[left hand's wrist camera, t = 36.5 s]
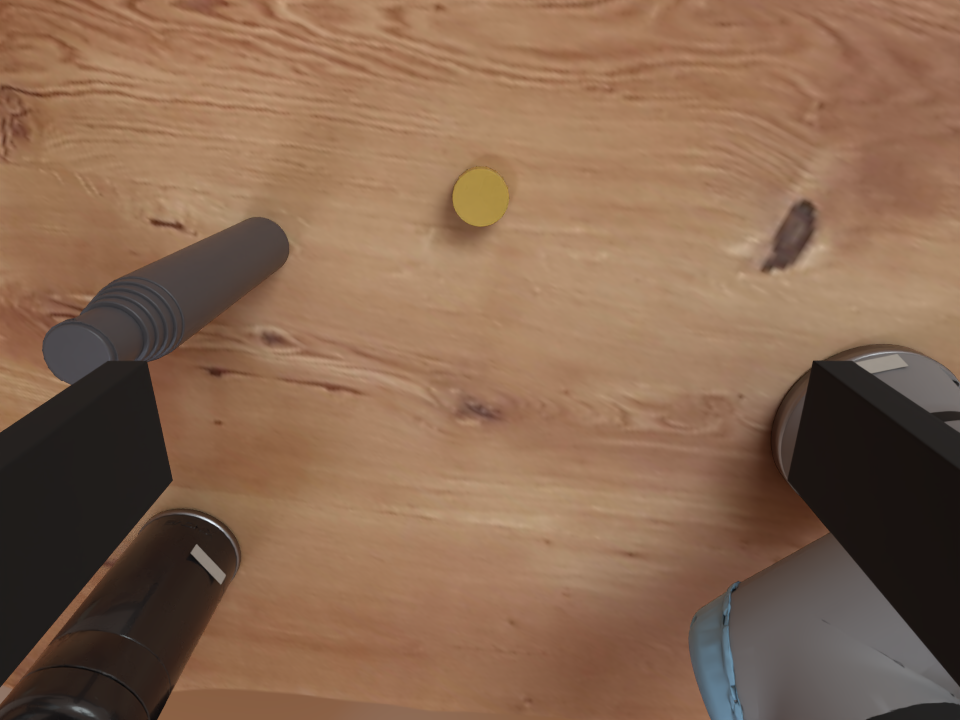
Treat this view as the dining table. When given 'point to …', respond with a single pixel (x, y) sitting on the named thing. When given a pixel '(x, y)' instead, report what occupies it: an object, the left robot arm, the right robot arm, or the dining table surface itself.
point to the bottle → (166, 300)
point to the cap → (480, 196)
